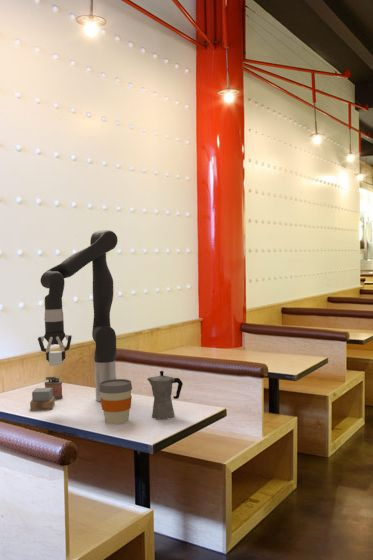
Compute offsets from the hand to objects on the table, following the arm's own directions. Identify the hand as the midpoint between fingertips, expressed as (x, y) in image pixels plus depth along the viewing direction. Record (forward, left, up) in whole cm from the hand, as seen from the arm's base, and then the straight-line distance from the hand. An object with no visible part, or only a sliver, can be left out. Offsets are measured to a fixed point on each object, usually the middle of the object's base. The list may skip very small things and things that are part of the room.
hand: (55, 360), depth 231 cm
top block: (0, 0, -1) cm, 1 cm away
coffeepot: (-43, +17, -22) cm, 51 cm away
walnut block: (+8, -9, -22) cm, 25 cm away
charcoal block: (+7, -9, -18) cm, 21 cm away
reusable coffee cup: (-24, +19, -22) cm, 38 cm away
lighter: (+5, -24, -22) cm, 33 cm away
